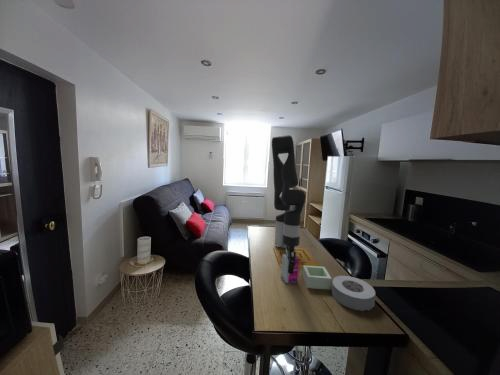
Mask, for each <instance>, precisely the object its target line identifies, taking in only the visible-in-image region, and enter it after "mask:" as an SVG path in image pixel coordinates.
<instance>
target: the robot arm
mask: <svg viewBox="0 0 500 375" xmlns="http://www.w3.org/2000/svg"><path fill="white" fill-rule="evenodd" d="M294 144H295V143H294V140H293V137H292V136H291V135H287V134H286V135H277V136H273V137H272V139H271V152H272V153H271V154H272V161H273V162H272V163H273V166H272V167H273V185H274V187H273V188H274V190H273V191H274V194H273V195H274V197H273V198H274V199H273V204H274V209H275V210H276V211H283V213H281V214H278V215H276V216H275V227H274V228H275V229H274V230H275V231H274V246H275V245H276V246H277V247H276V246H275V247H276V248H278V247H282V248H281V249H285V254H287V259H288V273H289V274H293V271H294V266H295V257H297V256H296V255H297V253H296V251H297V250H296V249H295V247H298V246H299V245H300V241H301V240H300V238H301V216H302V211H303V210H304V206H305V202H306V199H307V197H306V193H305V191H304V190H302V189H294V188H295V187H297V186H298V184H299V179H298V175H297V173H298V172H297V170H296V157H295V146H294ZM280 154H281V155H282V154H287V157H286V160H285V161H284V163H283V162H282V160H281V158H280V156H279V155H280ZM291 206H294V207H293V208H292V207H291ZM291 261H293V263H292V262H291Z"/></svg>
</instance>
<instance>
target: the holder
mask: <svg viewBox="0 0 500 375" xmlns="http://www.w3.org/2000/svg"><path fill="white" fill-rule="evenodd" d="M302 278H303V281H304V283H305V287H306V288H307V289H317V290H329V291H332V282H333V279H332V277H331V275H330V274H329V271H328V270H327V269H326V267H325V266H317V265H302Z"/></svg>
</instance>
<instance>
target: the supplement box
mask: <svg viewBox="0 0 500 375" xmlns="http://www.w3.org/2000/svg"><path fill="white" fill-rule="evenodd" d="M281 259H282V260H281V270H280V272H281V273H280V278H281V279H282V281H283V282H284V283H285V284H286V285H288V284H296V283H298V279H299V265H300V258H299V256H296V257H295V266H294V271H293V274H289V273H288V259H287V254H286V253H283V254H282V257H281ZM291 262H292V263H293V261H291Z"/></svg>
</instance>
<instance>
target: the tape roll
mask: <svg viewBox="0 0 500 375" xmlns="http://www.w3.org/2000/svg"><path fill="white" fill-rule="evenodd" d="M376 295H377V294H376V290H375V289H374V287H373V286H372V285H370V283H368V282H366V281H365V280H362V279H360V278H357V277H353V276H349V275H337V276H335V277H334V278H333V279H332V281H331V296H332V297H333V299H334V300H336V301H337V302H338V303H339V304H340V305H342V306H345V307H347V308H349V309H352V310H354V311H359V310H360V311H361V312H365V311H364V310H368V311H371V310H373V309H374V308H375V304H376ZM373 307H374V308H373ZM372 308H373V309H372ZM370 309H371V310H370Z"/></svg>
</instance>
